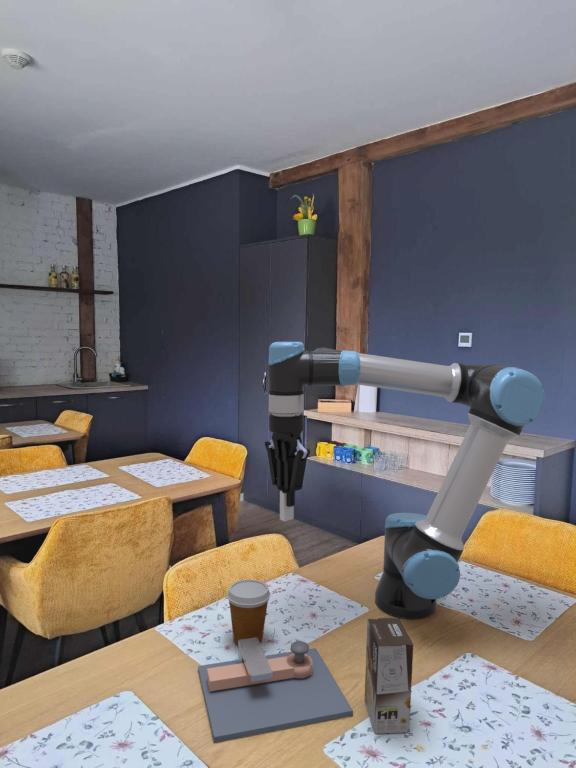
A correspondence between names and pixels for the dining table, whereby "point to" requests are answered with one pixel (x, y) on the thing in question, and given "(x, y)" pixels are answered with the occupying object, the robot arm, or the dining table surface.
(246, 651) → the block
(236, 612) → the disposable coffee cup
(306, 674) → the link
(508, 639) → the dining table surface
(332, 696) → the mount board
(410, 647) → the coffee box
